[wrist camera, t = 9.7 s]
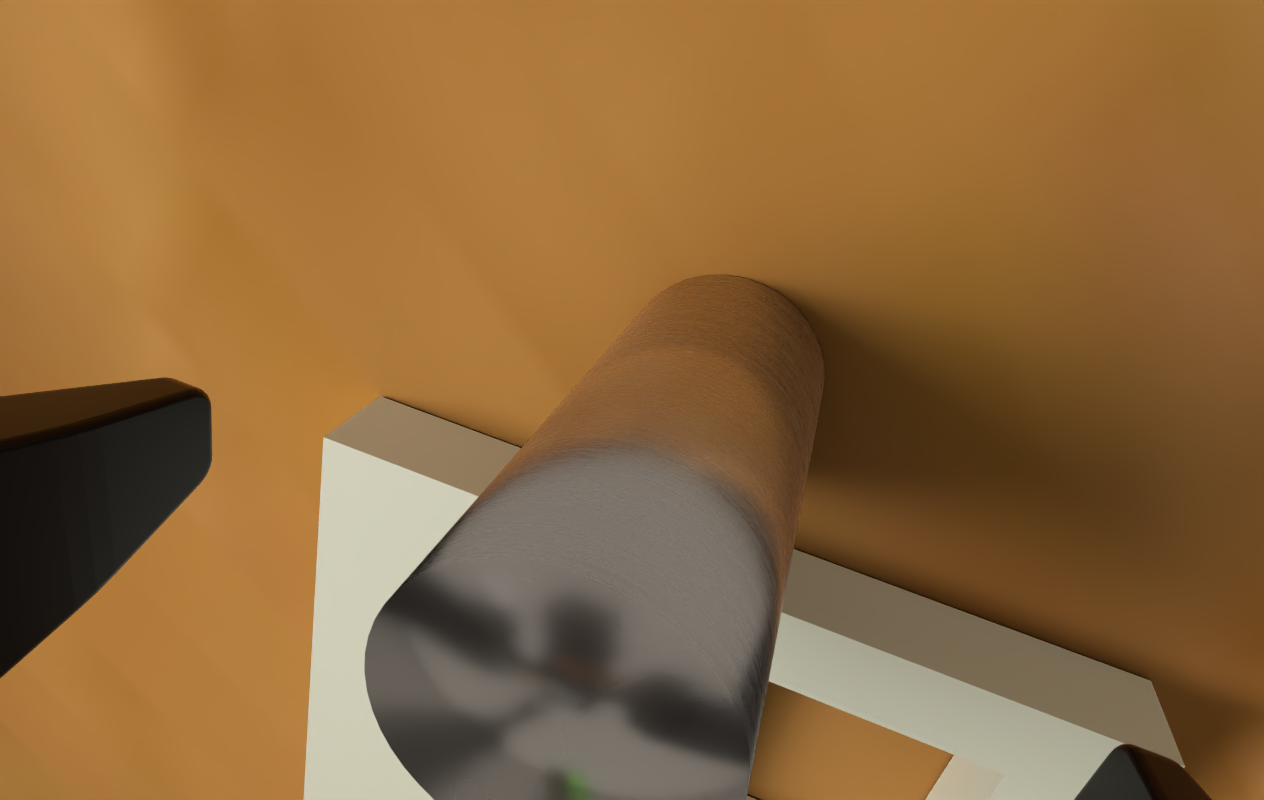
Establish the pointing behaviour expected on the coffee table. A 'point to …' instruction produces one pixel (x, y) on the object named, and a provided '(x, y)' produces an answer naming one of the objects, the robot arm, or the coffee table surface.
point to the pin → (617, 572)
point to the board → (803, 657)
